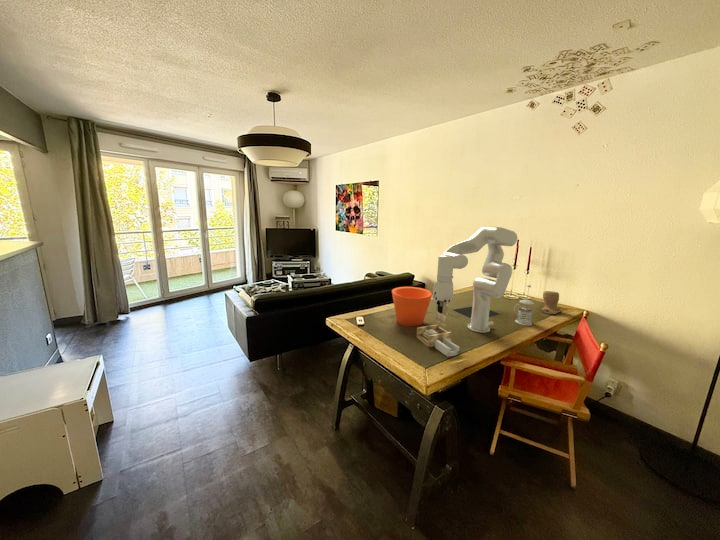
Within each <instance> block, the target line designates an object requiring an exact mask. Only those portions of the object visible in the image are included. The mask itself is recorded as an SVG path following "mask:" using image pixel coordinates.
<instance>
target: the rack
mask: <svg viewBox="0 0 720 540" xmlns="http://www.w3.org/2000/svg"><path fill="white" fill-rule="evenodd" d="M429 329H432V330H434V331H435V332H437V333H438V334H434V335H429V336H428V341H427V340H426V339H425V338H423V332H425V330H429ZM452 335H453V332H452V331H447V330H446V329H445V328H442V326H441V327H440V323H437V324H432V325H425V326H424V325H423V326H419V327H416V339H417V340H419V341H420V342H421V343H422V344H424V345H425V346H427V347H428V348H432V347H433V348H434V343H435V340H436V339H438V340H439V341H441V342H442V341H443V338H446V339H448V340H450V341H451V342H452V337H453V336H452Z"/></svg>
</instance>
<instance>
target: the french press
mask: <svg viewBox="0 0 720 540" xmlns="http://www.w3.org/2000/svg"><path fill="white" fill-rule="evenodd" d="M526 287H527V288H528V289H527V292H529V290H530V288H532V286H531V284H528V285H527V286H526ZM528 296H529V294H527V296H526V299H521V300H519V302H518V303H516V304H515V305H514V307H513V308H514V309H516V308H517V306H519V308H518V309H517V310H518V311H517V312H516V310H513V312H514V314H516V319H515V320H514V322H515V323H517V324H518V325H521V326H522V325H523V326H533V323H532V318H533V317H532V316H533V308H531V307H529V306H531V305H534V304H535V303H534V302H533V301H532V300H530V299H528ZM521 304H523V306H522V305H521ZM525 305H526V306H525ZM528 305H529V306H528Z"/></svg>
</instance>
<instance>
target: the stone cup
mask: <svg viewBox="0 0 720 540" xmlns="http://www.w3.org/2000/svg"><path fill="white" fill-rule="evenodd" d="M542 299H543V303H544V307H542V308H541V309H540V311H542V312H543V313H545V314H548V315H555V314H558V313H561V312H562V309H561V308H558V306H557V305H558V303H559V301H560V293H559V292H558V291H552V290H548V291H547V290H545V291H543V293H542Z"/></svg>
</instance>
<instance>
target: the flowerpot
mask: <svg viewBox="0 0 720 540" xmlns="http://www.w3.org/2000/svg"><path fill="white" fill-rule="evenodd" d="M391 294H392V301H393V306H394V312H395V315H396V317H395V318H396V322H397V323H398V324H399V325H400V326H403V327H407V328H408V327H415V326H416V327H417V326H421V325H422V326H423V323H424V321H425V318H426V315H427V311H428V309H429V306H430V303H431V300H432V298H433V291H430V290H429V289H425V288H422V287H417V286H416V287H415V286H399V287H395V288H393V289H392V290H391Z"/></svg>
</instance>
